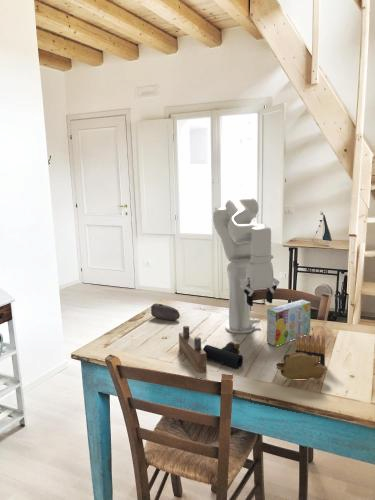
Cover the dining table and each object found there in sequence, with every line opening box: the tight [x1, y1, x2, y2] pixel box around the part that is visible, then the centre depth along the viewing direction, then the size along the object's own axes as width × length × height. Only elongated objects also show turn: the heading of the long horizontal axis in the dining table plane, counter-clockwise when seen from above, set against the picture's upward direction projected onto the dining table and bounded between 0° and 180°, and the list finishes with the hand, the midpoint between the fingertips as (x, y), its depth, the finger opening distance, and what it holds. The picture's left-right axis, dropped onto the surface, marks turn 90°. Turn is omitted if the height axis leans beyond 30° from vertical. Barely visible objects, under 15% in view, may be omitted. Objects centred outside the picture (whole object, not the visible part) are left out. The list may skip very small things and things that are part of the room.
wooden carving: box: [275, 352, 327, 380], centre depth 138 cm, size 16×5×10 cm, turn 91°
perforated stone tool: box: [150, 303, 181, 321], centre depth 197 cm, size 15×5×7 cm, turn 63°
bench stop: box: [178, 325, 207, 374], centre depth 153 cm, size 3×21×11 cm, turn 20°
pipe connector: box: [202, 341, 244, 370], centre depth 154 cm, size 12×5×15 cm
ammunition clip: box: [294, 332, 326, 366], centre depth 148 cm, size 11×2×12 cm, turn 69°
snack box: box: [266, 299, 312, 347], centre depth 170 cm, size 21×6×15 cm, turn 124°
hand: (259, 303), depth 156 cm, fingers open, 7 cm apart
